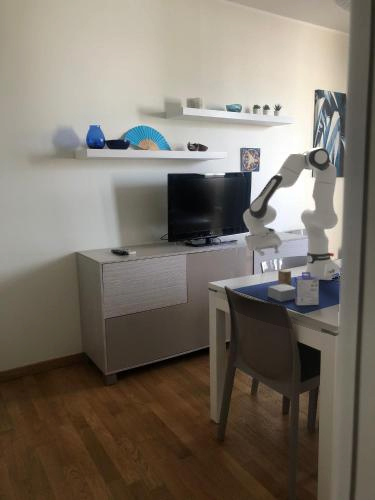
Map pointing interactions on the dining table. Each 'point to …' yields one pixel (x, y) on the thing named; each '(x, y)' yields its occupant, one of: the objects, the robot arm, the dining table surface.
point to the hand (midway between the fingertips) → (270, 254)
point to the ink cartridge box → (306, 290)
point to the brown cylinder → (284, 277)
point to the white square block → (281, 292)
